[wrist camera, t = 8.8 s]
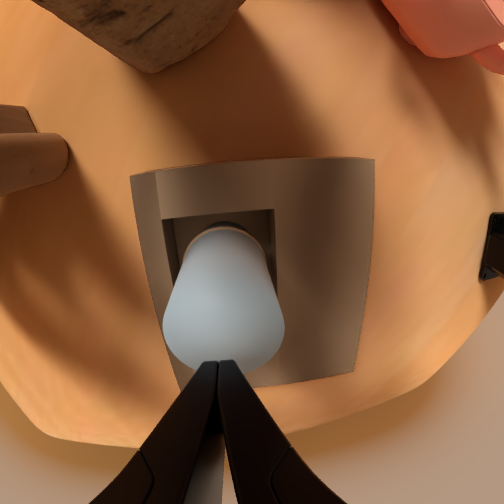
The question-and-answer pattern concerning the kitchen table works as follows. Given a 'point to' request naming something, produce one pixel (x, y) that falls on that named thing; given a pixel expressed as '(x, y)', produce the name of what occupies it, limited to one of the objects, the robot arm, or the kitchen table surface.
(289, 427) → the kitchen table surface
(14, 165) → the wooden toy
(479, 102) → the kitchen table surface
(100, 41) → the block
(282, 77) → the kitchen table surface
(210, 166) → the board
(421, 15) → the teapot
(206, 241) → the peg
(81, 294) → the kitchen table surface
